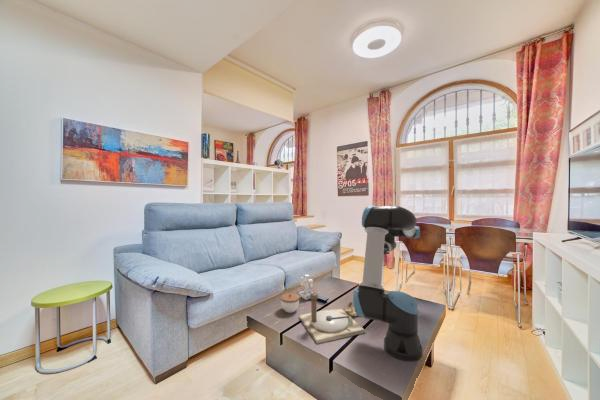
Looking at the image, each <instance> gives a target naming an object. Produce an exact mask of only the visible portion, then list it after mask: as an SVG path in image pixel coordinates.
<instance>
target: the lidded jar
mask: <svg viewBox="0 0 600 400" xmlns="http://www.w3.org/2000/svg"><path fill="white" fill-rule="evenodd" d="M280 304H281V307H282V309H283V310H284V312H285V313H288V314H290V313H291V314H292V313H294V312H295V311H297V309H298V308H299V304H300V294H296V293H292V292H291V293H290V292H289V293H284V294H282V295H280Z"/></svg>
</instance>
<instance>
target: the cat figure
mask: <svg viewBox="0 0 600 400" xmlns="http://www.w3.org/2000/svg"><path fill="white" fill-rule="evenodd" d="M352 306H353V302H352V301H349V302H348V304H347V307H348V308H349V309H345V313H347V314H348V315H349V316H350V317H351V318H352V319H353V317H357V316H358V315H357V314H356V312H355V310H354V306H353V307H352Z"/></svg>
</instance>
